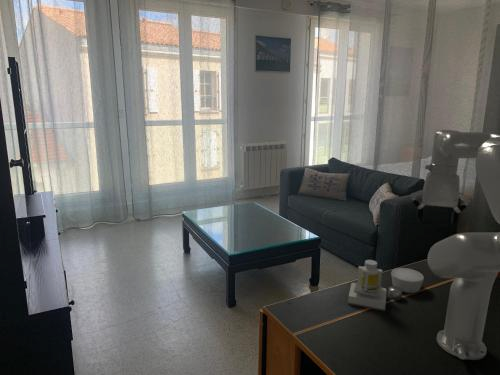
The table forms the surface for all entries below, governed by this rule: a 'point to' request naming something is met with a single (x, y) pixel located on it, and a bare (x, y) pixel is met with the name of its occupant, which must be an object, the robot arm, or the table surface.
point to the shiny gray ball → (394, 292)
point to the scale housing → (367, 299)
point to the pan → (361, 291)
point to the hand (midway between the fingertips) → (436, 221)
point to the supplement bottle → (369, 276)
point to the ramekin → (407, 279)
